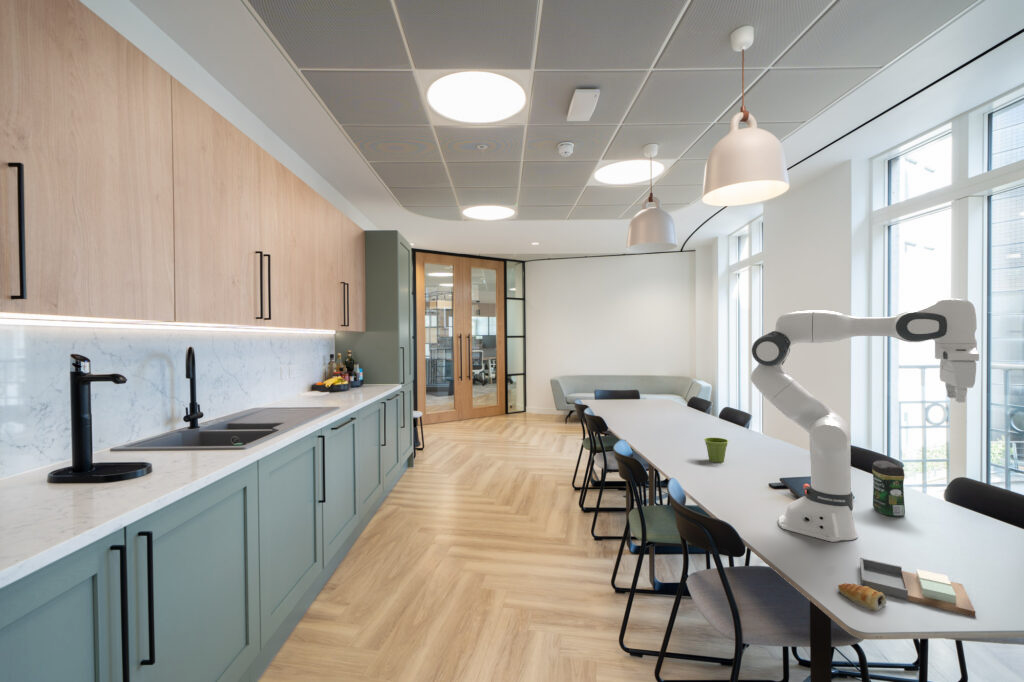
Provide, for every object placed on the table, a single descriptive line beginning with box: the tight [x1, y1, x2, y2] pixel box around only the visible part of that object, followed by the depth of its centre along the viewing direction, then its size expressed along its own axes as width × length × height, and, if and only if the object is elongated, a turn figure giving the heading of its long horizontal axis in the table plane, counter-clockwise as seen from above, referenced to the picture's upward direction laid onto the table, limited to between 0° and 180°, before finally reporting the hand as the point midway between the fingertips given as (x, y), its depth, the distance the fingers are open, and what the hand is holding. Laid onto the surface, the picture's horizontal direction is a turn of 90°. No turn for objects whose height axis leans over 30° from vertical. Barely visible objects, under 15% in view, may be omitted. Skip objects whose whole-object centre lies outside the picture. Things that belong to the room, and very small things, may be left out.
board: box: [902, 570, 976, 618], centre depth 115 cm, size 12×14×1 cm
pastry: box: [837, 582, 887, 612], centre depth 114 cm, size 9×7×4 cm
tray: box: [859, 557, 908, 601], centre depth 121 cm, size 9×14×2 cm, turn 144°
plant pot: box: [703, 436, 730, 464], centre depth 237 cm, size 12×12×11 cm
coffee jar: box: [871, 460, 906, 518], centre depth 166 cm, size 10×8×19 cm
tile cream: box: [916, 568, 951, 586], centre depth 117 cm, size 6×5×2 cm
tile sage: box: [920, 579, 956, 604], centre depth 113 cm, size 6×5×2 cm
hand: (955, 399), depth 133 cm, fingers open, 8 cm apart
